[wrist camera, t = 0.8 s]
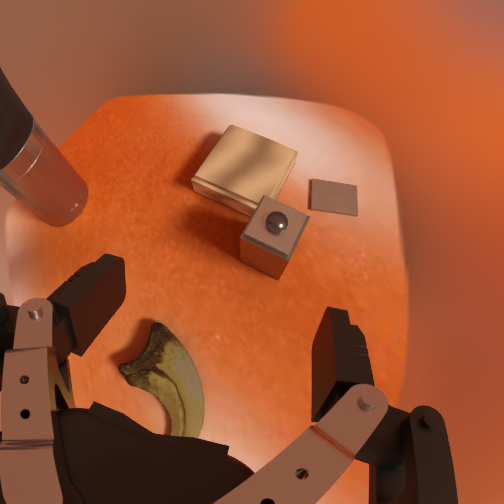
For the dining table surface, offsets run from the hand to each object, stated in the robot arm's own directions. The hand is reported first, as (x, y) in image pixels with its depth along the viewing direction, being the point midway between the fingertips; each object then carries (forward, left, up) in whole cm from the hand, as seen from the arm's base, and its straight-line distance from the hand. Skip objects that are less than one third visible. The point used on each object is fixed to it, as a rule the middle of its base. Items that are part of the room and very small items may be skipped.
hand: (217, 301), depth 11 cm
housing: (-1, +11, -27) cm, 29 cm away
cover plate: (+4, +23, -27) cm, 36 cm away
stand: (-9, +20, -27) cm, 35 cm away
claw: (-4, -13, -27) cm, 31 cm away
